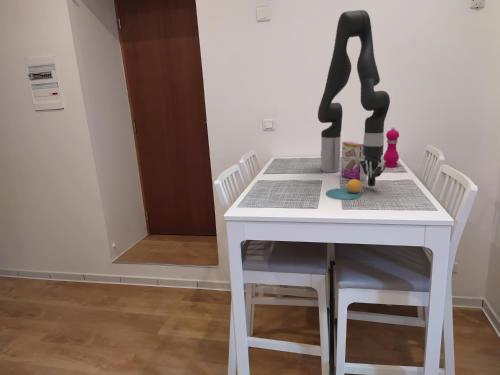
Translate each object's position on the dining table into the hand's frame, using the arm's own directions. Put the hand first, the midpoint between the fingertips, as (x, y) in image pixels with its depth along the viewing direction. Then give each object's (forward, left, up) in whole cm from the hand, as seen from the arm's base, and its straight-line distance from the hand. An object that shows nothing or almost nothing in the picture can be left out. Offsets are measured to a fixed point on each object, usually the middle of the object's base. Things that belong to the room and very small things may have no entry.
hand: (371, 185), depth 137 cm
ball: (+1, -9, +1) cm, 9 cm away
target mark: (0, -13, -2) cm, 13 cm away
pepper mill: (-27, +32, -2) cm, 42 cm away
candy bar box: (-18, +4, -2) cm, 19 cm away
